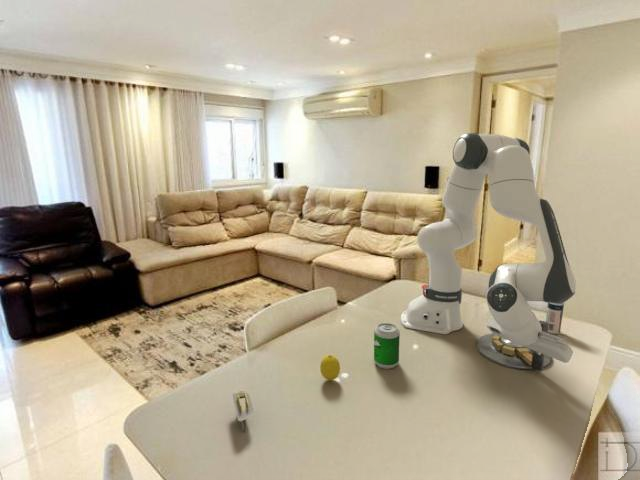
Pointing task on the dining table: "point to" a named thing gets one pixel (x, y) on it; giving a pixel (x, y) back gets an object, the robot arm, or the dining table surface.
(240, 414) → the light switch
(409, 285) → the dining table surface
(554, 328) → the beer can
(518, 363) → the flange
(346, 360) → the dining table surface
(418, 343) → the dining table surface
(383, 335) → the soda can
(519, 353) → the tan handled ring
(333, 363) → the lemon
